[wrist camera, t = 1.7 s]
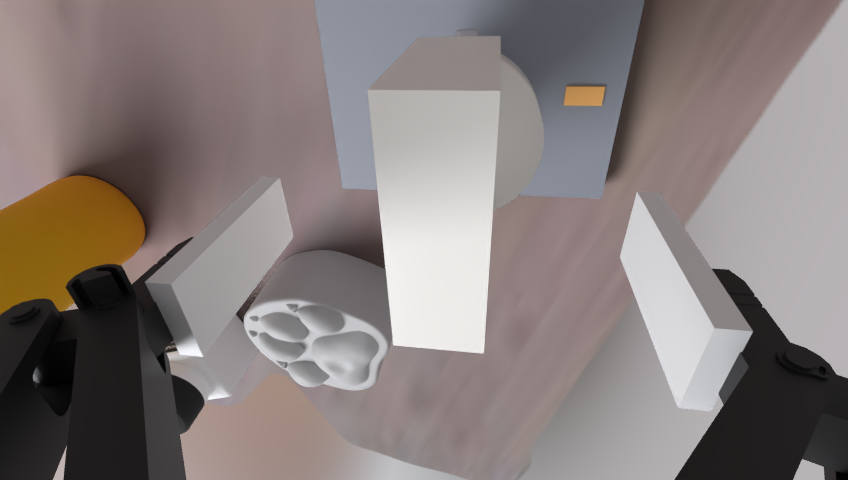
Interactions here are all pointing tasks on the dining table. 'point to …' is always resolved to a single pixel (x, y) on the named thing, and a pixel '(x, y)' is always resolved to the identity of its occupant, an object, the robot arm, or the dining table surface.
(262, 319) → the lumpy-topped squat cylinder
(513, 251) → the dining table surface
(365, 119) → the post plinth
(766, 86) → the dining table surface
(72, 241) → the beer bottle
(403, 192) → the white round-based slab
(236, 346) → the medicine bottle
